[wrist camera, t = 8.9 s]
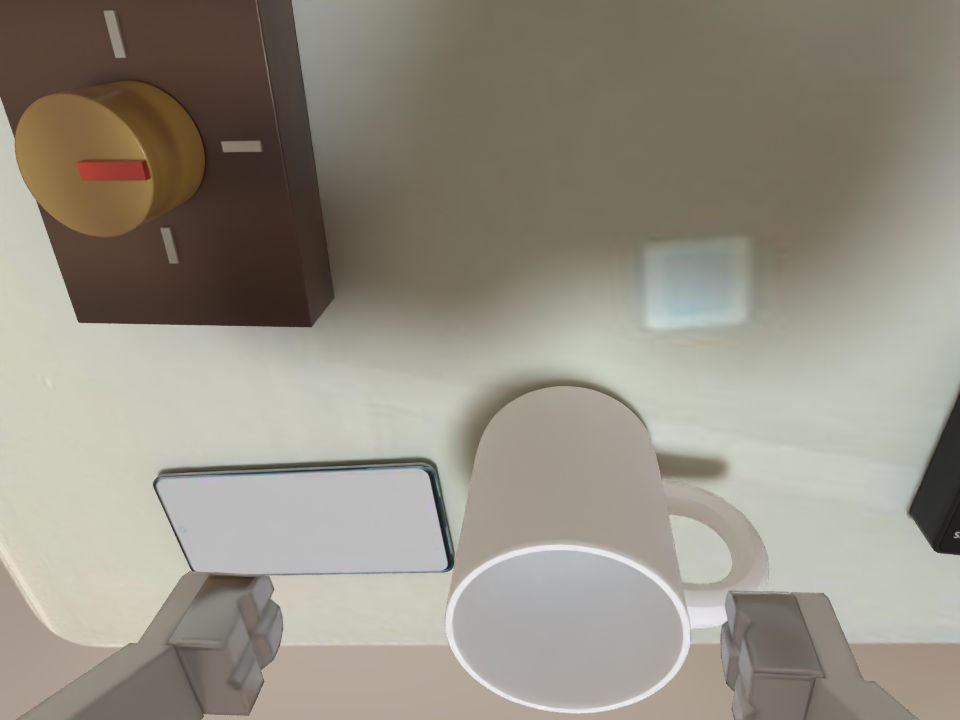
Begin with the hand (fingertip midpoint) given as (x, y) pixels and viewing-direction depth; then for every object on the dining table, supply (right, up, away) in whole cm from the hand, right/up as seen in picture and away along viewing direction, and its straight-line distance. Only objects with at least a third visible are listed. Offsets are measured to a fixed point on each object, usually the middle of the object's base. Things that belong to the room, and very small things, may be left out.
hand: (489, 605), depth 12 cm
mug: (+6, 0, +20) cm, 21 cm away
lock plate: (-12, +13, +15) cm, 23 cm away
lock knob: (-12, +12, +12) cm, 21 cm away
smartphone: (-9, -4, +24) cm, 26 cm away
